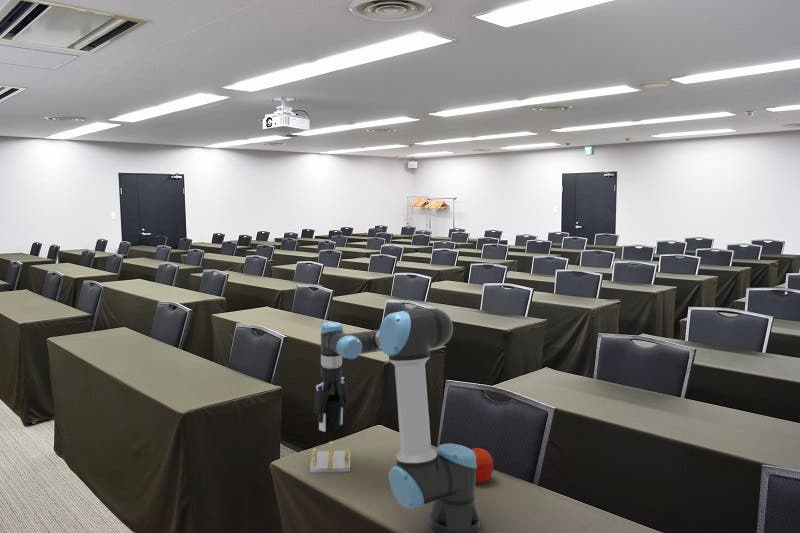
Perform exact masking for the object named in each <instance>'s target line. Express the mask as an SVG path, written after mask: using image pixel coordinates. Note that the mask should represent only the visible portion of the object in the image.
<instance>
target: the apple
mask: <svg viewBox="0 0 800 533" xmlns="http://www.w3.org/2000/svg"><path fill="white" fill-rule="evenodd" d="M470 449H471V448H470ZM471 450H472V451H473V452H474V453H475V455H476V465H477V468H476V484H481V483H485V482H486V481H487V480H489V479H490V478H491V477H492V474H493V470H494V459H493V457H492V456H491V453H490V452H489V451H487V450H485V449H483V448H479V447H474V448H472V449H471Z"/></svg>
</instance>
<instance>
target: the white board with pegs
mask: <svg viewBox="0 0 800 533" xmlns="http://www.w3.org/2000/svg"><path fill="white" fill-rule="evenodd" d="M328 443H329V444H328V448H329V449H328V450H318V449H317V448H315V447H313V448H312V451H311V452H312V453H311V459H310V466H309V473H310V474H311V473H312V474H313V473H315V474H316V473H350V472H351V450H350V447H344V450H334V444H335V443H334V440H333V441H332V440H330V441H329V442H328Z"/></svg>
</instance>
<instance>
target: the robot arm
mask: <svg viewBox="0 0 800 533" xmlns="http://www.w3.org/2000/svg"><path fill="white" fill-rule="evenodd" d="M343 329H344V328H343V325H342V323H341V322H337V321H329V322H323V324H322V325H321V329H320V330H321V331H320V365H321V366H320V377H321V382H320V383H319V384H315V385H314V388H315V389H314V390H315V392H314V402H313V407H312V408H313V409H312V411H313V413H314V414H317V422H318V431H321V432H324V433H326V432H325V431H326V413H324V411H325V408H326V401H328V397H329V395H332V393H333V395H335V397H336V398H340V396H341V397H342V401H341V410H340V420H339V426H342V425H343V421H344V420H343V415H344V409H345V408H346V407H347V404H348V403H349V397H348V386H347V383H348V382H347V381H348V379H347V378H346V377H344V376H343V374H342V373H343V366H342V365H343V358H345V359H348V360H353V359H356V358H357V357H359V356H360V355H364V354H369V353H378V352H383V353H384V354H385V355H387V356H388V361H389V362H390V363H391V364H392V365H393V366H394V374H395V375H394V376H395V386H396V387H395V388H396V402H397V414H398V415H397V416H398V429H399V441H400V442H399V443H400V451H399V452H398V453H397V454H396V456H395V460H396V461H395V462H396V465H394V466H393V467H392V468H390V471H389V473H388V482H389V486H390V489H391V492H392V494H393V495H394V497H395V500H397V502H398V503H399V504H400V505H401V506H402V507H404V508H407V509H413V508H418V507H423V506H424V505H427V504H430V503H432V502H433V503H432V506H431V507H430V510H429V514H428V515H429V516H428V521H429V522H428V523H429V525H430V527H431V528H432V530H434V531H435V533H477V532H478V531H479V530H480V528H481V515H480V512H479V508H478V505H477V501H476V485H477V483H476V468H477V465H476V455H475V453H474V452H473V451H472V450H471V448H469V447H466V446H464V445H461V444H456V443H443V444H442V443H441V444H439V445H438V446H437V448H436V451H435V450H434V449H433V448H432V443H431V429H430V414H429V402H428V388H427V376H426V373H427V372H426V363H427V361H428V360H429V359H430V357H431V356H430V350H432V349H436V348H440V347H442V346H444V345H445V344H447V343H448V342H449V341H450V339H451V337H452V336H453V332H454V325H453V322H452V319H451V318H450V316H449V315H448V314H447V313H446V312H445V311H443V310H441V309H438V308H424V309H422V308H421V309H415V310H414V309H413V310H401V311H397V312H391V313H389V314H387V315H386V316H385V317H384V318H383V320H382V322H381V323H380V327H379V329H374V330H368V331H361V332H359V331H358V332H351V333H345V332H344V330H343Z"/></svg>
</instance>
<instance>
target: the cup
mask: <svg viewBox="0 0 800 533" xmlns="http://www.w3.org/2000/svg"><path fill="white" fill-rule="evenodd" d="M341 401H342V397H341V396H340V398H336V397H335V394H330V395H329V397H328V401H326V408H325V411H324V413H326V431H325V432H324V433H326V434H335V433H337V432H339V428H340V424H339V420H340V410H341Z"/></svg>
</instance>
